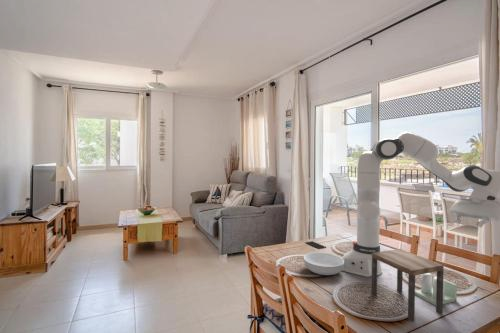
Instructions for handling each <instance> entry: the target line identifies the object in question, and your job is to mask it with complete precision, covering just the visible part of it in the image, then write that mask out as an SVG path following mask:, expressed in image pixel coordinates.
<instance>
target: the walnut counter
mask: <svg viewBox="0 0 500 333" xmlns="http://www.w3.org/2000/svg"><path fill="white" fill-rule="evenodd" d="M377 260H379V261H380V263H383V264H385V265H388V266H390V267H392V268H394V269H396V272H397V273H396V277H397V278H396V291H397V292H399V293H402V292H403V278H404V277H403V276H404V275H403V274H404V273H405V274H407V275H408V278H407V279H408V280H407V281H408V285H407V286H408V289H407V294H408V295H407V297H408V298H407V320H409V321H410V322H414V321H415V309H416V308H415V307H416V306H415V305H416V304H415V302H416V295H415V291H416V276H421V274H426V273H430V274H432V273H436V276H437V288H436V306H435V313H436V314H439V315H442V314H443V312H444V311H443V308H444V306H443V305H444V304H443V279H444V269H445V268H444V264H441V263H439V262H436V261H433V260H431V259H428V258H425V257H423V256H421V255H417V254H414V253H413V252H409V251H406V250H404V249H401V248H397V249H390V250H384V251H380V252H374V253H372V276H371V291H370V292H371V295H373V296H378V289H377V288H378V275H377ZM373 296H372V297H373Z"/></svg>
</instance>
